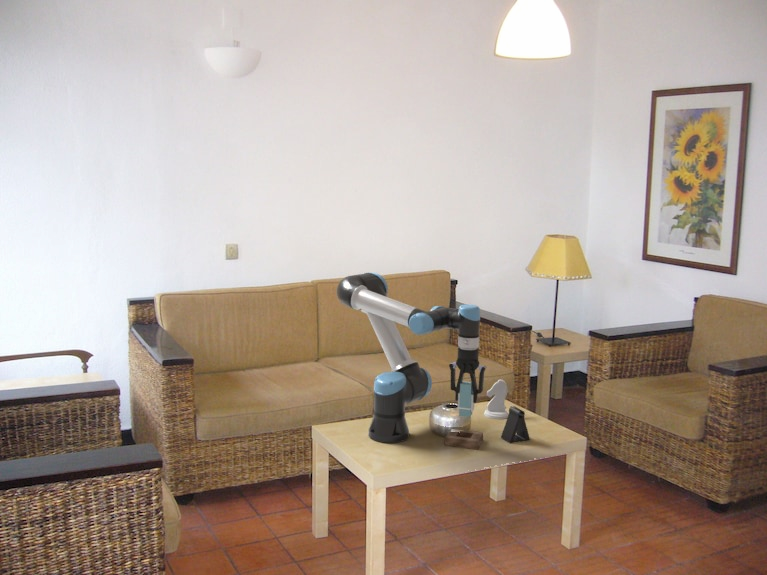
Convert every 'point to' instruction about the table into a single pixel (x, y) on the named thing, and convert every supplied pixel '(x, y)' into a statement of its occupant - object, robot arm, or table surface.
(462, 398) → the peg
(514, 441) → the picture frame
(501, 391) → the chess piece
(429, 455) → the table surface
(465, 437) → the board
